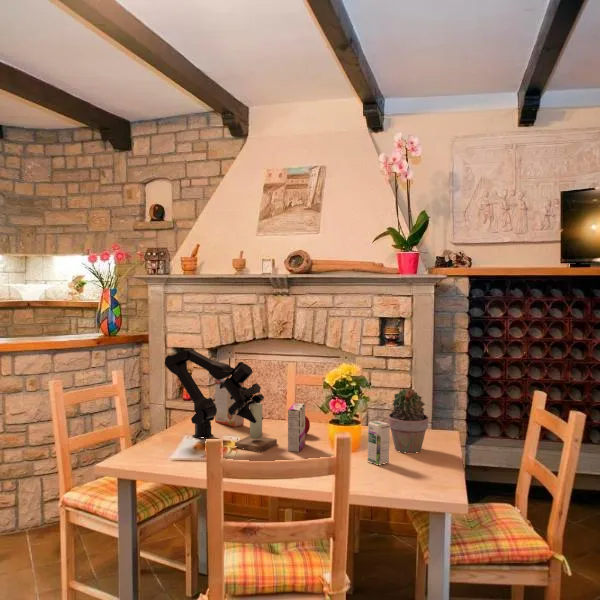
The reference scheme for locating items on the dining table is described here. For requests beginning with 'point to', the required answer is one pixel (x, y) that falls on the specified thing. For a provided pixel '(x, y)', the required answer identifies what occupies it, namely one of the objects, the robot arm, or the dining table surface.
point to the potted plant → (408, 421)
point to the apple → (307, 425)
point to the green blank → (256, 427)
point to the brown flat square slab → (256, 443)
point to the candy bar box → (296, 427)
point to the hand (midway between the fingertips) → (259, 421)
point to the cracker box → (225, 406)
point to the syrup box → (378, 442)
